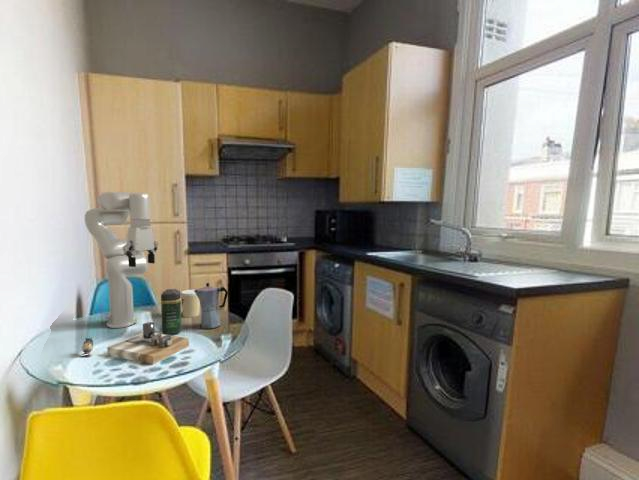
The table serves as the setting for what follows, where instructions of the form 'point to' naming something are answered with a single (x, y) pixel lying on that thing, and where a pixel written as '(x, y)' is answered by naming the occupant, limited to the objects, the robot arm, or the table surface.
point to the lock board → (147, 348)
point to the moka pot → (210, 305)
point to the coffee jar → (171, 312)
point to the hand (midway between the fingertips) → (142, 264)
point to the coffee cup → (190, 303)
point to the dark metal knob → (151, 334)
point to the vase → (88, 346)
